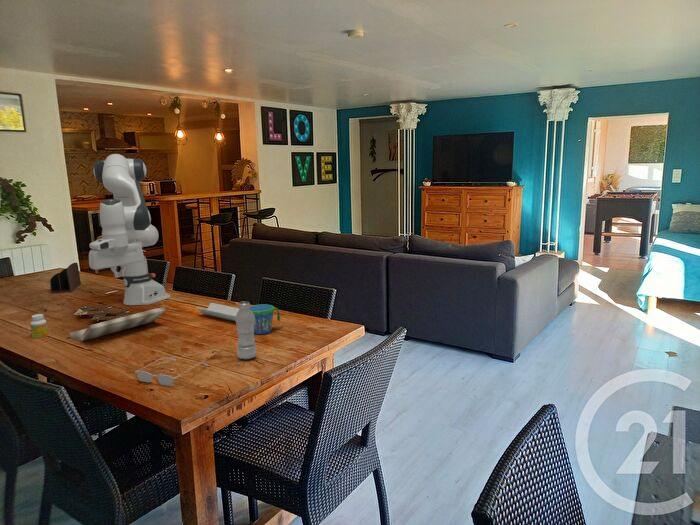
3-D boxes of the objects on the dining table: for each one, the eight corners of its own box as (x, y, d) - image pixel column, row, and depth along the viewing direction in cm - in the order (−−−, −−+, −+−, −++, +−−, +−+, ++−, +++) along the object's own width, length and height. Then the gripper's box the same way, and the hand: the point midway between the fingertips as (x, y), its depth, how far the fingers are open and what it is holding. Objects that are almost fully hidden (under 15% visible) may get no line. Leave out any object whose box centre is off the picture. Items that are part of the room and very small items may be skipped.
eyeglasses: (135, 382, 155) (133, 370, 154) (174, 360, 172) (173, 350, 171) (175, 388, 150) (173, 376, 149) (211, 366, 166) (210, 355, 165)
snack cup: (277, 325, 207) (276, 301, 205) (284, 332, 197) (283, 308, 195) (240, 331, 200) (238, 306, 198) (245, 338, 191) (244, 313, 189)
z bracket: (212, 321, 229) (219, 309, 231) (251, 330, 215) (257, 317, 218) (196, 307, 220) (203, 295, 223) (235, 316, 206) (242, 303, 209)
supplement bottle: (32, 342, 192) (28, 318, 190) (33, 338, 196) (30, 314, 195) (48, 339, 194) (44, 316, 192) (49, 335, 199) (45, 312, 197)
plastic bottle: (238, 355, 174) (235, 300, 170) (258, 354, 175) (254, 299, 171) (236, 362, 168) (232, 305, 164) (256, 361, 169) (252, 304, 165)
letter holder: (81, 284, 289) (78, 260, 286) (71, 292, 270) (67, 267, 267) (62, 285, 286) (59, 261, 284) (50, 293, 268) (47, 268, 265)
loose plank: (154, 321, 211) (152, 318, 212) (165, 309, 204) (164, 306, 204) (81, 341, 188) (80, 337, 189) (91, 328, 181) (89, 325, 181)
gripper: (136, 237, 200) (140, 271, 203) (84, 244, 184) (89, 280, 187) (145, 239, 196) (148, 273, 199) (92, 246, 180) (97, 282, 183)
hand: (119, 276), depth 193 cm, fingers closed
